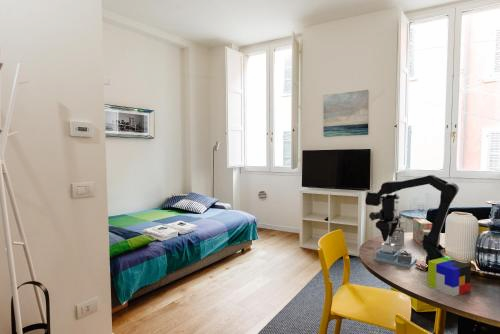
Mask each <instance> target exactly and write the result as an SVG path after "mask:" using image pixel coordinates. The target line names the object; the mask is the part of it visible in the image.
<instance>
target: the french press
mask: <svg viewBox="0 0 500 334" xmlns="http://www.w3.org/2000/svg"><path fill="white" fill-rule="evenodd" d="M399 202H400V201H398V200H395V204H399ZM396 222H397V221H396ZM405 222H406V221H405V219H402V218H400V221H399V224H405ZM404 229H405V228H404V227H401V226H397V227H396V229H395V231H394V233H393V235H392V237H390V236H389V235H388V242H392V244H395V249H404V248H407V245H406V244H405V230H404Z"/></svg>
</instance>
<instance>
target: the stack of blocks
mask: <svg viewBox="0 0 500 334" xmlns="http://www.w3.org/2000/svg"><path fill="white" fill-rule="evenodd" d="M432 225H433V222H430V221H428V220H427V219H426V218H412V238H413V240H414V241H416V243H418V244H419V245H420V246H422V244H423V243H421V242H422V241H423V238H424V234H425V233H426V232H430V231H431V228H432ZM422 247H423V246H422Z"/></svg>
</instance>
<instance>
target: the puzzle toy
mask: <svg viewBox="0 0 500 334" xmlns="http://www.w3.org/2000/svg"><path fill="white" fill-rule="evenodd" d="M471 270H472V265H471V264H469V263H465V262H462V261H459V260H455V259H453V258H449V257H448V256H447V257H446V256H445V257H443V258H439V259H435V260H430V261H428V268H427V286H429V287H431V288H434V289H435V290H438V291H439V292H442V293H444V294H447V295H449V296H450V297H455V296H459V295H461V294H464V293H467V292H470V291H471V274H472V273H471V272H472V271H471Z"/></svg>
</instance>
